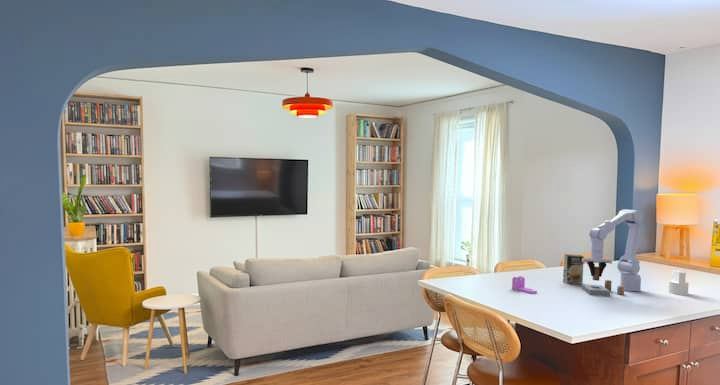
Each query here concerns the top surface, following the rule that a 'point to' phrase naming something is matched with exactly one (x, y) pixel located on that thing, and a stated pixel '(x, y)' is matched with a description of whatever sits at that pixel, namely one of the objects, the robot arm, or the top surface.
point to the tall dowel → (596, 273)
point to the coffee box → (573, 269)
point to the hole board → (595, 290)
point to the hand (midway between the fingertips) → (596, 276)
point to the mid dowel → (608, 284)
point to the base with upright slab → (678, 283)
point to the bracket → (521, 285)
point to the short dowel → (620, 290)
